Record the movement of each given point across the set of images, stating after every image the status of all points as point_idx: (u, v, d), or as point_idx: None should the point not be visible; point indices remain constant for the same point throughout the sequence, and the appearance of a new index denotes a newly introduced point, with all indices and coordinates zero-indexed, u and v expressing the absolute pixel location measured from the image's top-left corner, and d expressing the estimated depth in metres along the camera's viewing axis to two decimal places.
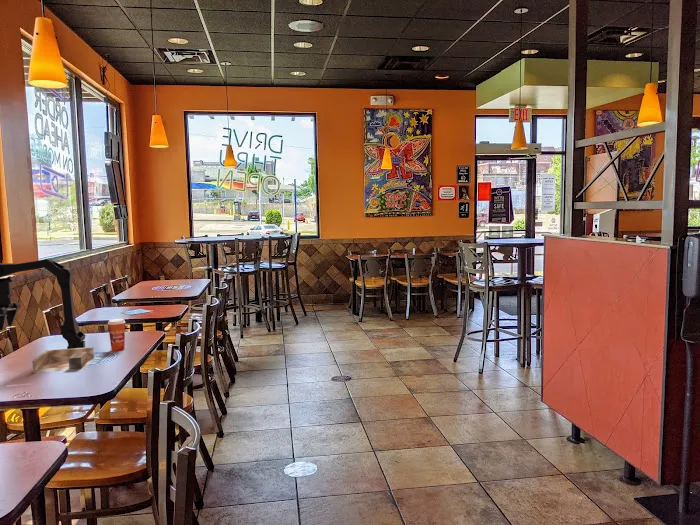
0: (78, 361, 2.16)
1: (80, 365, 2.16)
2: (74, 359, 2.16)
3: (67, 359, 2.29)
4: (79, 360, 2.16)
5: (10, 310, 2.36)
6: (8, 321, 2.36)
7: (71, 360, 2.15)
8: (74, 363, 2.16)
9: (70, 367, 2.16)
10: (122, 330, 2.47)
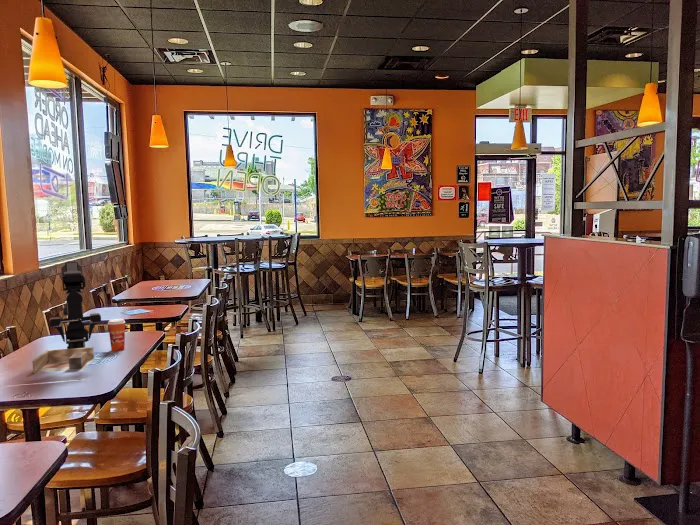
0: (78, 361, 2.16)
1: (80, 365, 2.16)
2: (74, 359, 2.16)
3: (67, 359, 2.29)
4: (79, 360, 2.16)
5: (90, 322, 2.21)
6: None
7: (71, 360, 2.15)
8: (74, 363, 2.16)
9: (70, 367, 2.16)
10: (122, 330, 2.47)
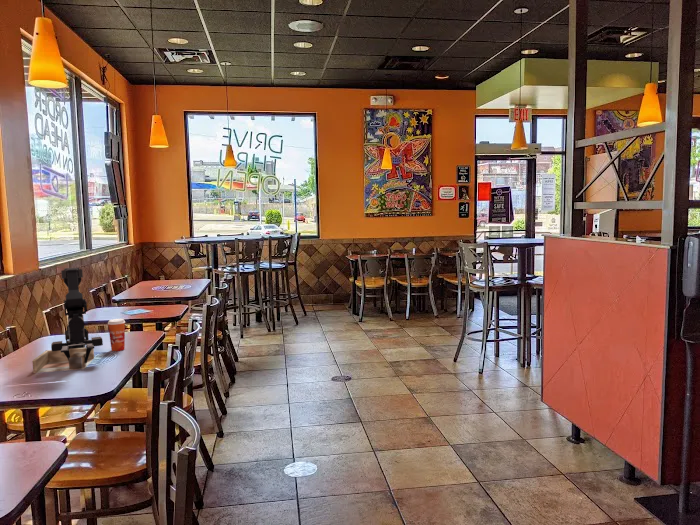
0: (78, 361, 2.16)
1: (80, 365, 2.16)
2: (74, 359, 2.16)
3: (67, 359, 2.29)
4: (79, 360, 2.16)
5: (86, 347, 2.21)
6: (85, 358, 2.22)
7: (71, 360, 2.15)
8: (74, 363, 2.16)
9: (70, 367, 2.16)
10: (122, 330, 2.47)
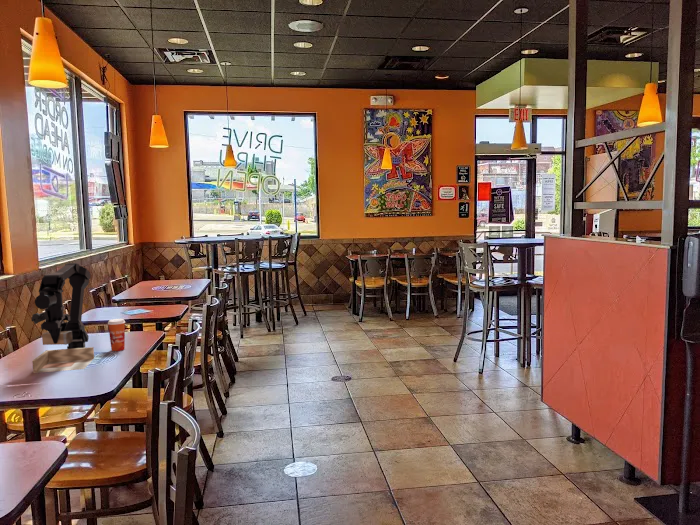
0: (70, 335, 2.22)
1: (71, 339, 2.23)
2: (68, 333, 2.21)
3: (67, 359, 2.29)
4: (71, 334, 2.22)
5: (60, 324, 2.24)
6: None
7: (67, 334, 2.19)
8: (68, 337, 2.21)
9: (67, 342, 2.19)
10: (122, 330, 2.47)
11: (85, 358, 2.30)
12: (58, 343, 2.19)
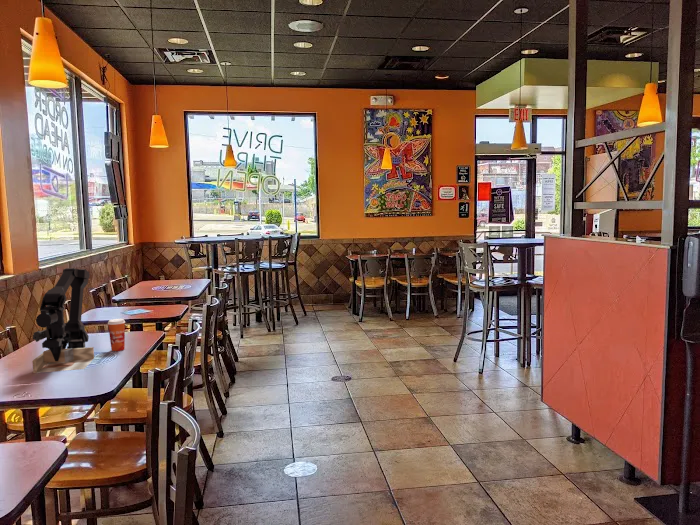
0: (71, 352, 2.23)
1: (73, 356, 2.24)
2: (69, 351, 2.21)
3: None
4: (72, 351, 2.23)
5: (61, 341, 2.25)
6: None
7: (68, 352, 2.20)
8: (69, 355, 2.21)
9: (68, 359, 2.20)
10: (122, 330, 2.47)
11: (85, 358, 2.30)
12: (59, 361, 2.20)
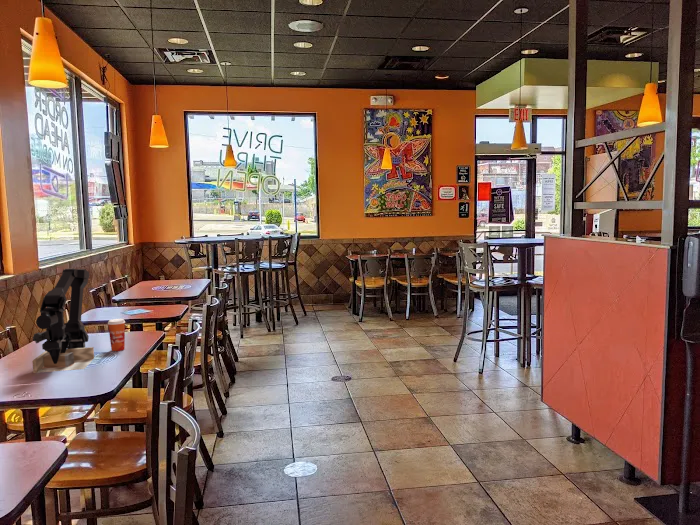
0: (72, 357, 2.23)
1: (73, 360, 2.24)
2: (70, 355, 2.21)
3: None
4: (72, 355, 2.23)
5: (62, 341, 2.26)
6: None
7: (68, 356, 2.20)
8: (70, 359, 2.22)
9: (68, 364, 2.20)
10: (122, 330, 2.47)
11: (85, 358, 2.30)
12: (60, 365, 2.20)
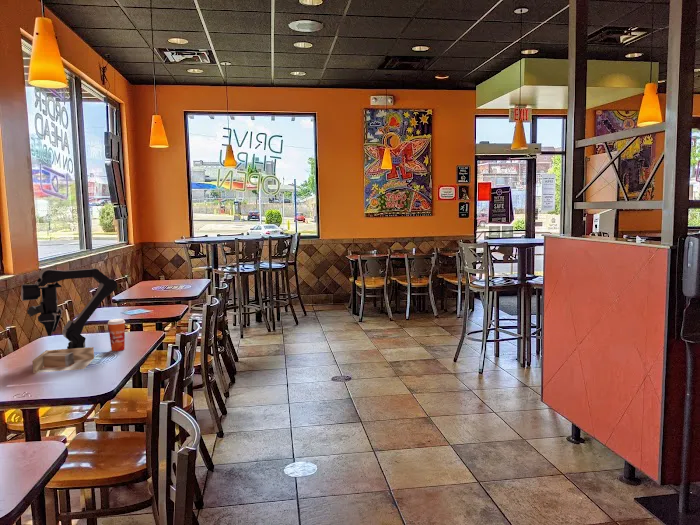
0: (72, 357, 2.23)
1: (73, 360, 2.24)
2: (70, 355, 2.21)
3: None
4: (72, 355, 2.23)
5: None
6: None
7: (68, 356, 2.20)
8: (70, 359, 2.22)
9: (68, 364, 2.20)
10: (122, 330, 2.47)
11: (85, 358, 2.30)
12: (60, 365, 2.20)
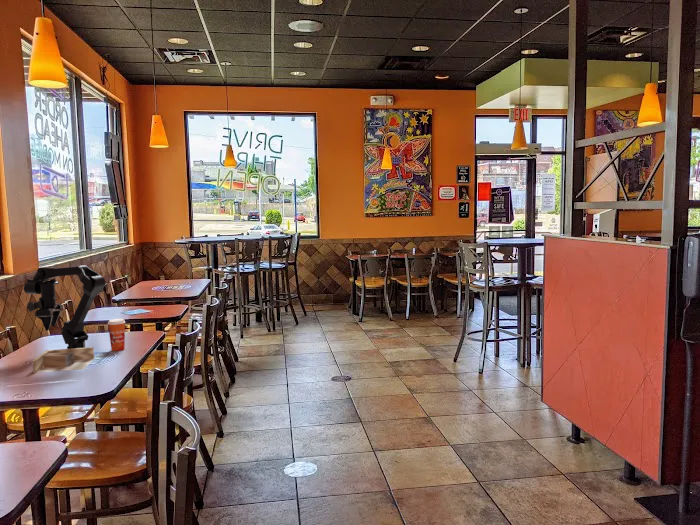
0: (72, 357, 2.23)
1: (73, 360, 2.24)
2: (70, 355, 2.21)
3: None
4: (72, 355, 2.23)
5: (54, 311, 2.46)
6: (52, 322, 2.46)
7: (68, 356, 2.20)
8: (70, 359, 2.22)
9: (68, 364, 2.20)
10: (122, 330, 2.47)
11: (85, 358, 2.30)
12: (60, 365, 2.20)
